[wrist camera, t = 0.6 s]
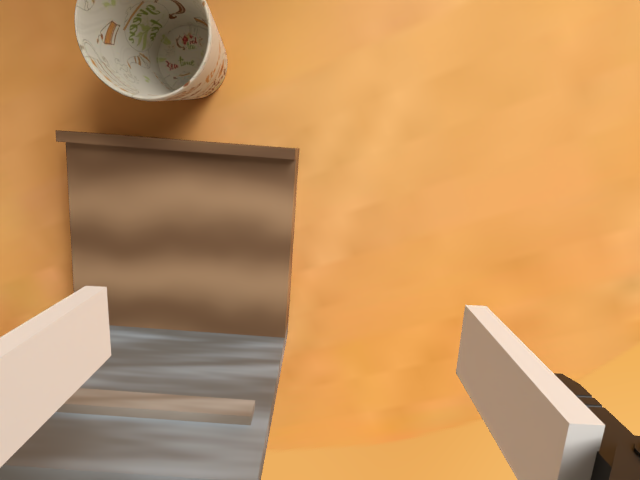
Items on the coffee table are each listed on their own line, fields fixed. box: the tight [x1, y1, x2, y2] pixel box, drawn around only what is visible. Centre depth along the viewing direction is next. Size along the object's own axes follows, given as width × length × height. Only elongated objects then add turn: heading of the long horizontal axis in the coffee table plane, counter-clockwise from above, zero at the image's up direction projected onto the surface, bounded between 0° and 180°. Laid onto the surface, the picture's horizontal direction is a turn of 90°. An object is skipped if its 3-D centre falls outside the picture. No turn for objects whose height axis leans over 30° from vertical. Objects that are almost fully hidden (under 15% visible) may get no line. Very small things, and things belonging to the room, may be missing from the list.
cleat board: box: [0, 130, 299, 480], centre depth 29 cm, size 18×18×20 cm
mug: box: [75, 0, 227, 101], centre depth 30 cm, size 8×13×10 cm, turn 12°
